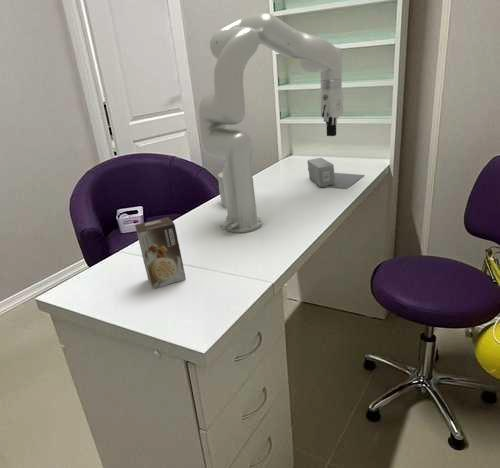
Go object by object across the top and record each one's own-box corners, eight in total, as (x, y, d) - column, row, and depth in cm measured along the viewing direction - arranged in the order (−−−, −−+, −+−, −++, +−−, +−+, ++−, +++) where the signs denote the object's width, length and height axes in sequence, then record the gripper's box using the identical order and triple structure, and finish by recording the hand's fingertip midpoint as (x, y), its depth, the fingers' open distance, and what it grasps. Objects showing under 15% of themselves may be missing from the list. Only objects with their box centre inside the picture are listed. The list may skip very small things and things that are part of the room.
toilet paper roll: (257, 198, 165) (254, 169, 161) (242, 209, 156) (239, 178, 151) (231, 196, 171) (228, 168, 166) (215, 206, 162) (211, 177, 157)
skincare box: (334, 164, 165) (323, 155, 180) (316, 168, 165) (306, 159, 180) (335, 185, 169) (324, 174, 183) (318, 188, 169) (308, 178, 183)
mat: (347, 189, 164) (347, 188, 164) (316, 186, 172) (316, 185, 172) (364, 175, 178) (364, 175, 177) (335, 173, 185) (335, 172, 185)
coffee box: (180, 270, 117) (169, 215, 110) (186, 279, 111) (175, 223, 105) (147, 279, 114) (134, 224, 107) (151, 289, 108) (138, 232, 102)
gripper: (331, 86, 147) (332, 139, 154) (349, 82, 158) (348, 132, 165) (312, 87, 151) (313, 139, 158) (330, 83, 162) (330, 131, 169)
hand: (331, 135), depth 161 cm, fingers closed
